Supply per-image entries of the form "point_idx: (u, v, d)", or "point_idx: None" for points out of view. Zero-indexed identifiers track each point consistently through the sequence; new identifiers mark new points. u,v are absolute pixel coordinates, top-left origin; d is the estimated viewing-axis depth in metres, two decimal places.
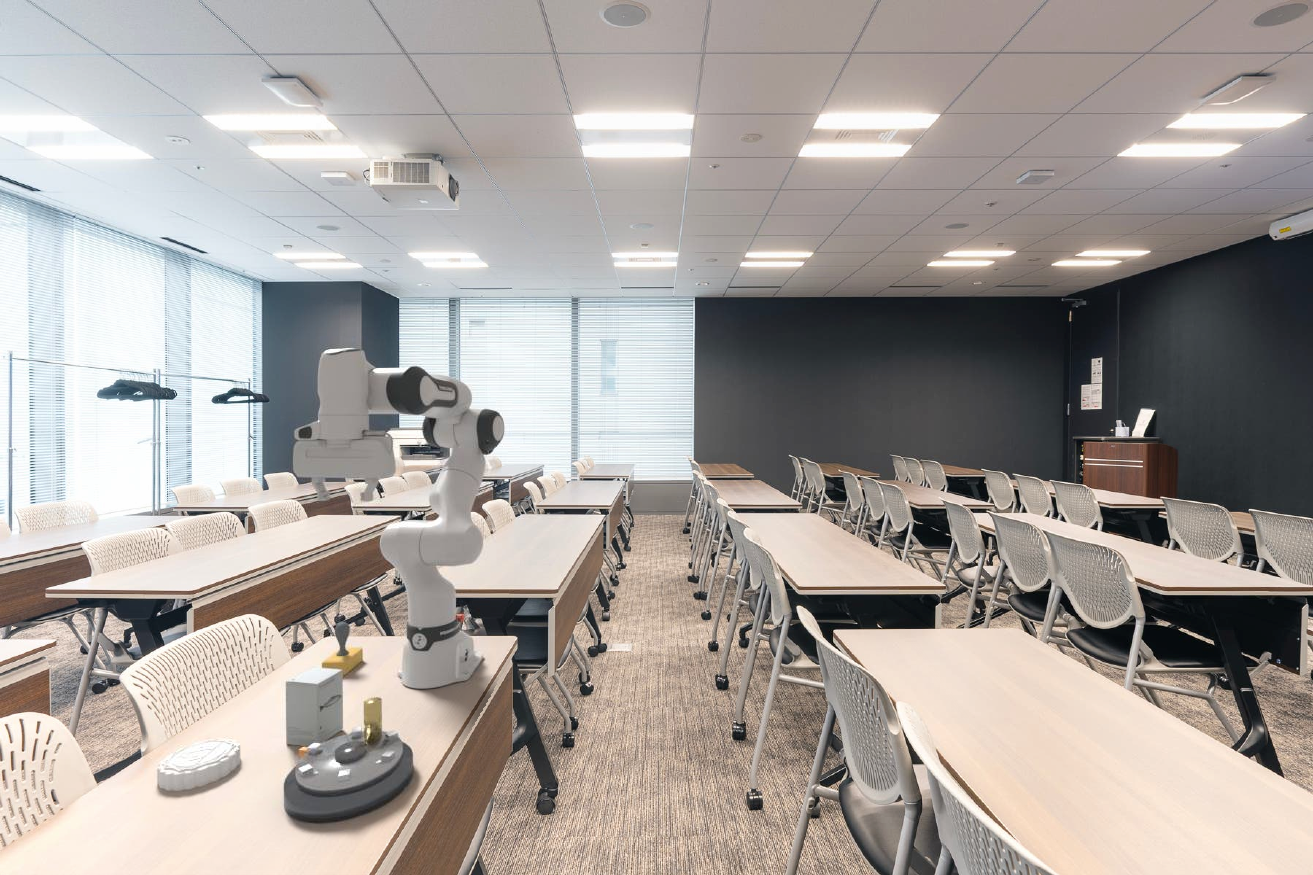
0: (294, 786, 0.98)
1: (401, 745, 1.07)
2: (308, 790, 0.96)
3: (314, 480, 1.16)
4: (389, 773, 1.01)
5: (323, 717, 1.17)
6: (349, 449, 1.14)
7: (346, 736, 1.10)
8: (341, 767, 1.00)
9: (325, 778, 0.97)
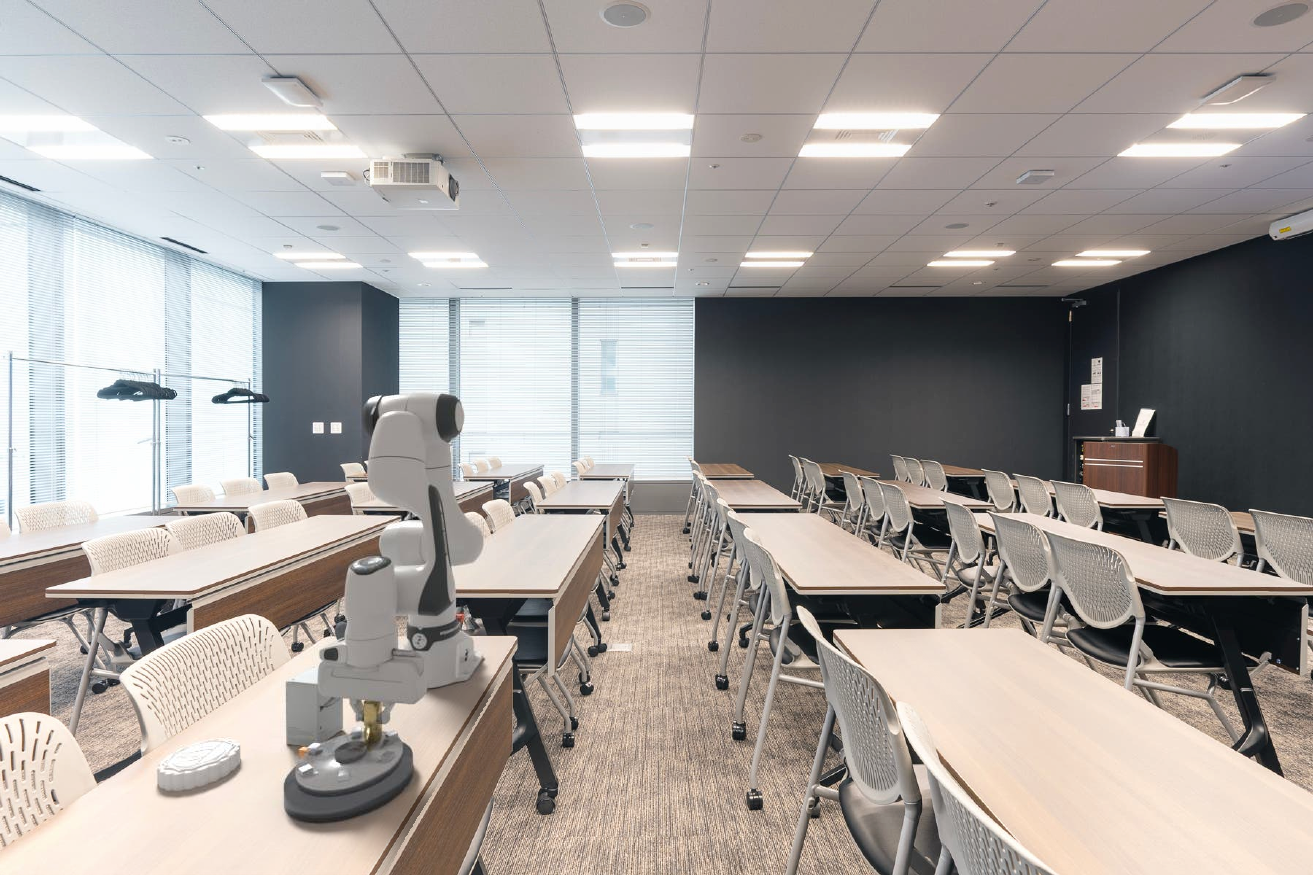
0: (294, 786, 0.98)
1: (401, 745, 1.07)
2: (308, 790, 0.96)
3: (352, 701, 1.09)
4: (389, 773, 1.01)
5: (323, 717, 1.17)
6: (377, 672, 1.07)
7: (346, 736, 1.10)
8: (341, 767, 1.00)
9: (325, 778, 0.97)
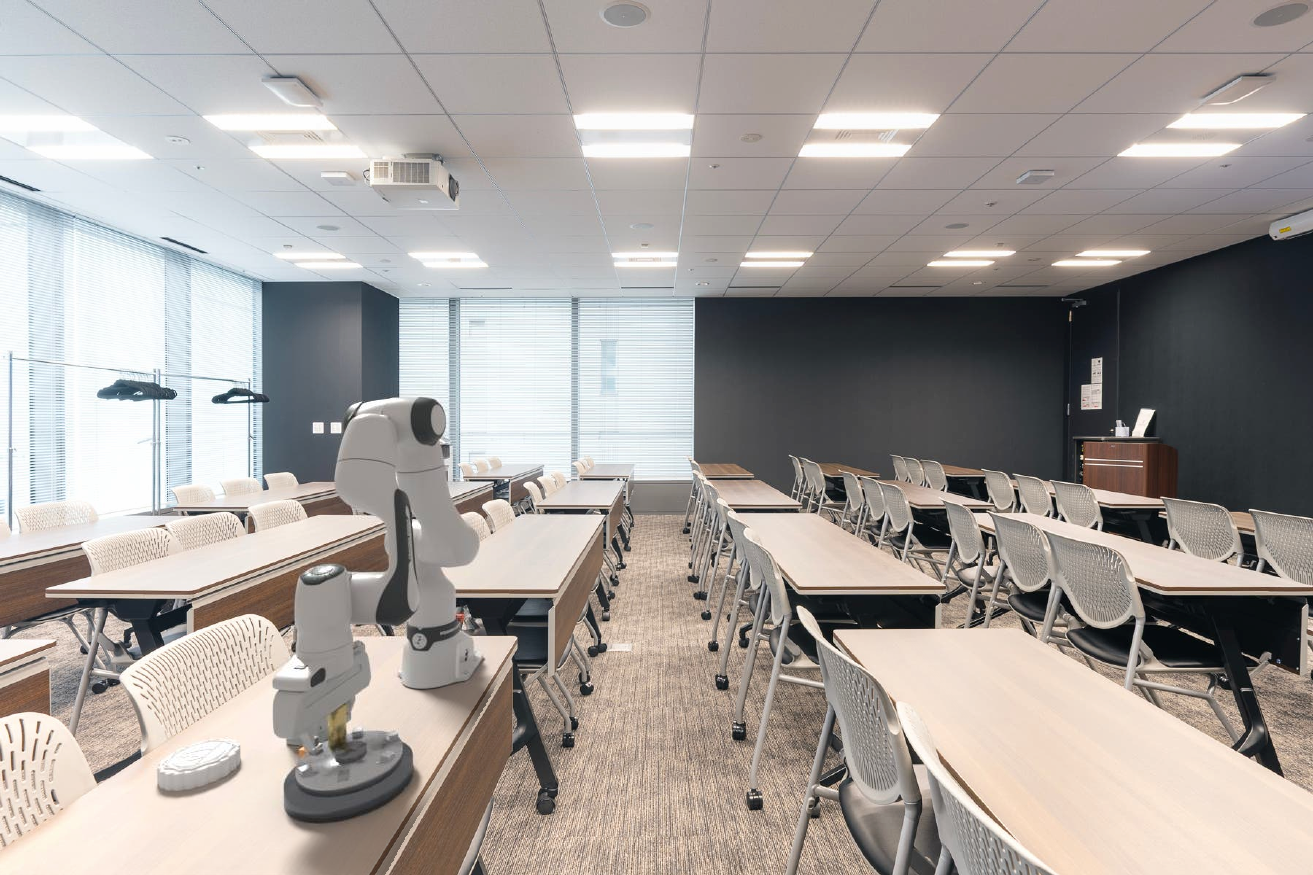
0: (294, 786, 0.98)
1: (379, 731, 1.12)
2: (362, 785, 0.97)
3: (310, 729, 1.00)
4: None
5: None
6: None
7: (307, 756, 1.03)
8: (365, 760, 1.02)
9: (370, 768, 1.00)
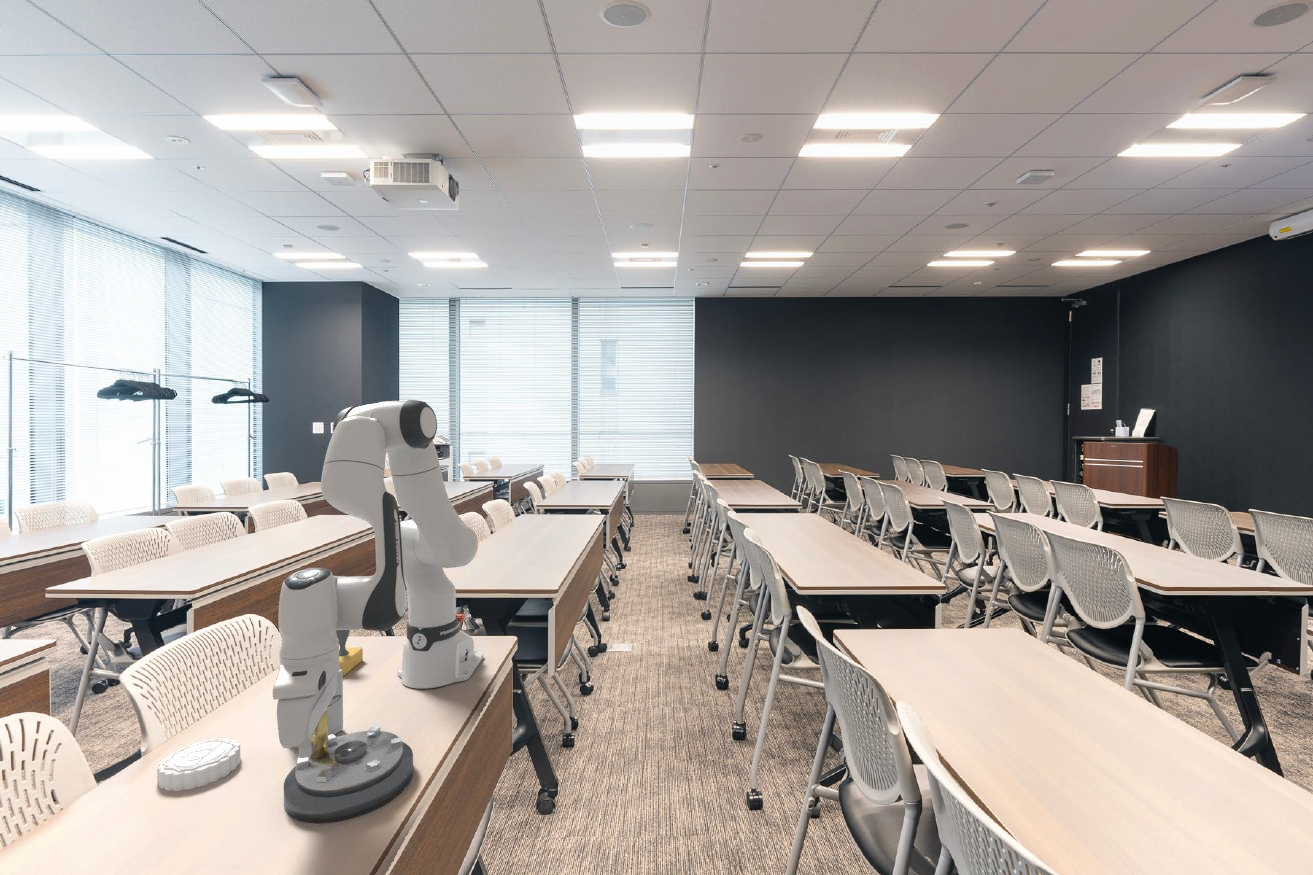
0: (294, 786, 0.98)
1: (350, 733, 1.11)
2: (391, 769, 1.02)
3: (310, 734, 0.98)
4: None
5: None
6: None
7: (302, 770, 0.99)
8: (373, 753, 1.04)
9: (389, 755, 1.04)
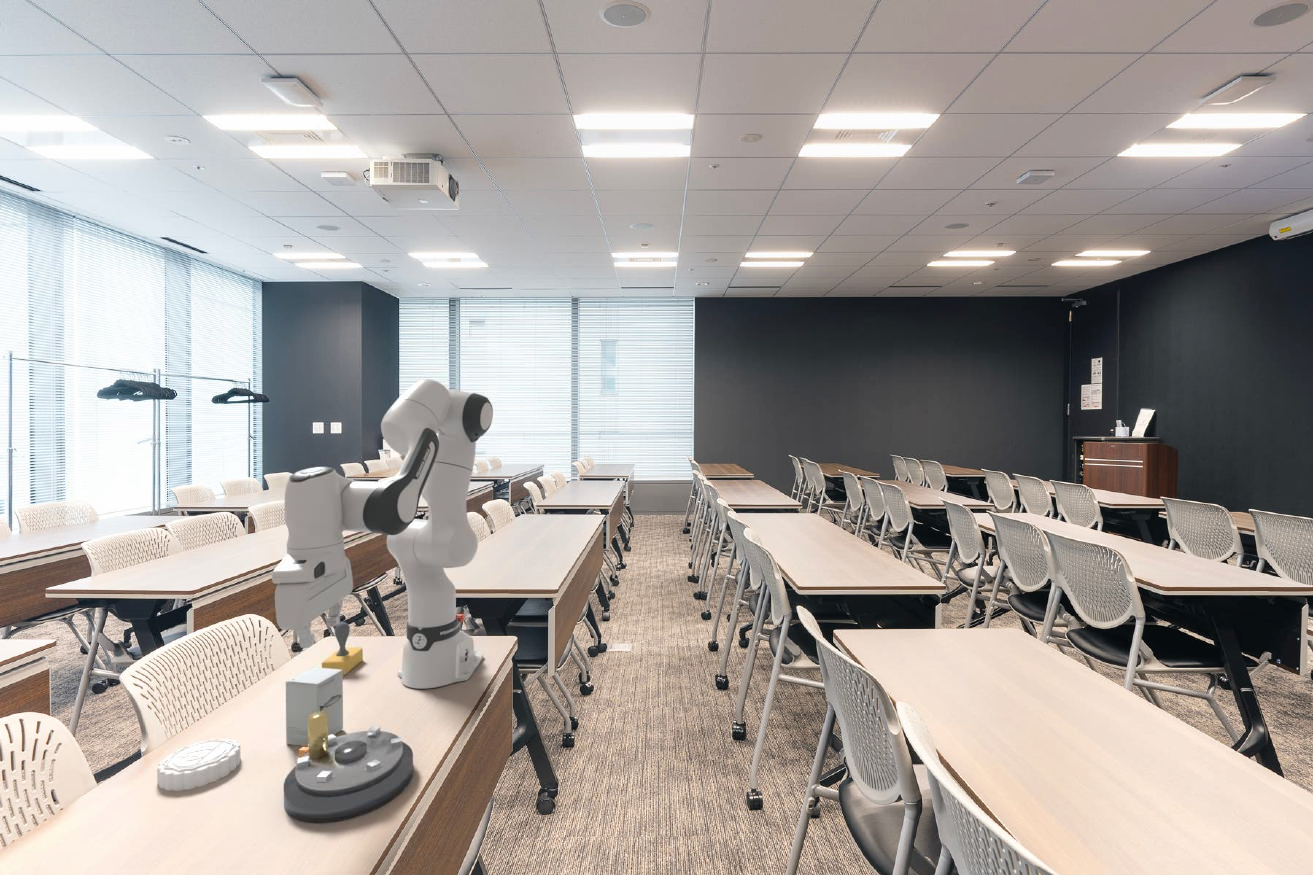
0: (294, 786, 0.98)
1: (350, 733, 1.11)
2: (391, 769, 1.02)
3: (309, 625, 1.00)
4: None
5: None
6: None
7: (302, 770, 0.99)
8: (373, 753, 1.04)
9: (389, 755, 1.04)
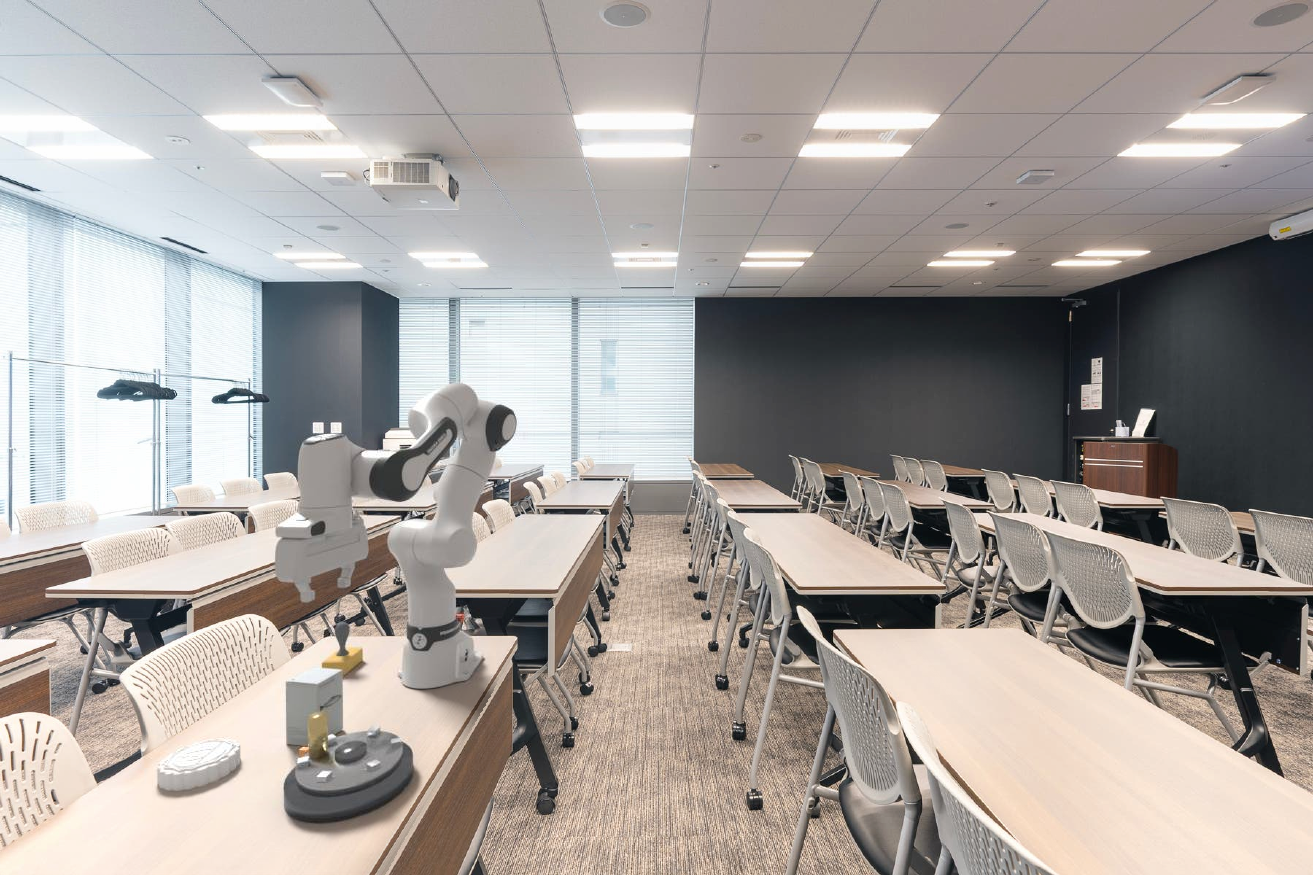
0: (294, 786, 0.98)
1: (350, 733, 1.11)
2: (391, 769, 1.02)
3: (307, 581, 1.06)
4: None
5: None
6: (342, 538, 1.13)
7: (302, 770, 0.99)
8: (373, 753, 1.04)
9: (389, 755, 1.04)
